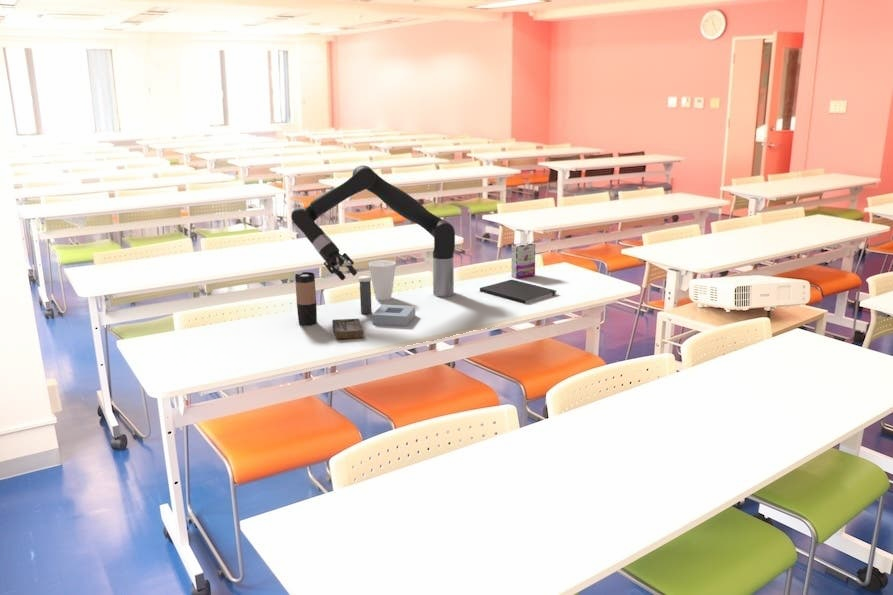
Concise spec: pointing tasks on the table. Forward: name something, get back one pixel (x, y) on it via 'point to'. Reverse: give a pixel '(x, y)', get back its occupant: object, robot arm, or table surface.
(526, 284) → the notebook
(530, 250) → the candy bar box
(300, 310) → the travel mug
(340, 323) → the box
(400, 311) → the socket
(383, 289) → the cup
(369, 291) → the plug
